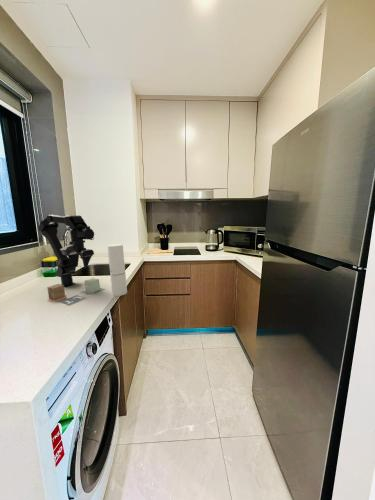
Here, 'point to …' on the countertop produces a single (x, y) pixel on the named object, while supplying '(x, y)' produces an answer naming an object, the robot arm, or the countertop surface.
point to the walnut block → (56, 292)
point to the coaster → (58, 299)
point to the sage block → (92, 285)
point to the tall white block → (117, 269)
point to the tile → (72, 300)
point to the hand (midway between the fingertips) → (80, 267)
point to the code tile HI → (92, 293)
